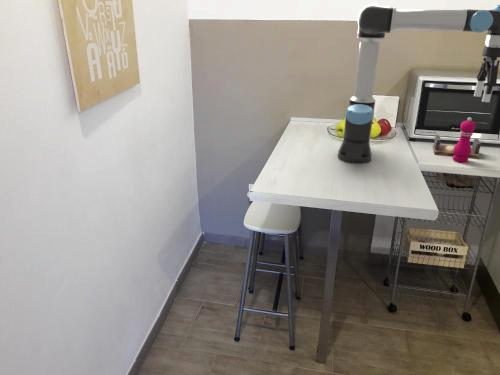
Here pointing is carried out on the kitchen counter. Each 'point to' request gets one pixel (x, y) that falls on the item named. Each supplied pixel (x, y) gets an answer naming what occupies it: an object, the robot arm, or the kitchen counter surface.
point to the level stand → (448, 149)
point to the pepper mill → (464, 141)
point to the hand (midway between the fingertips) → (481, 99)
